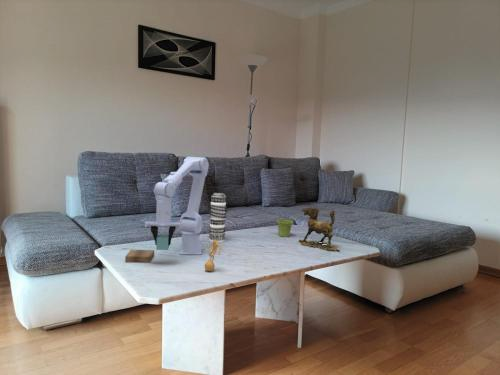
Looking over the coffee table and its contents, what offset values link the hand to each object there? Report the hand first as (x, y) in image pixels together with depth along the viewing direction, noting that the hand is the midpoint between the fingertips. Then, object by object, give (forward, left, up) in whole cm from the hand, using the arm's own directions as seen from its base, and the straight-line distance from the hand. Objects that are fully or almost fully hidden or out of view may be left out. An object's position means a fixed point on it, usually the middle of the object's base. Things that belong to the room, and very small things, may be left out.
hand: (163, 244), depth 147 cm
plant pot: (-62, -54, -8) cm, 83 cm away
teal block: (0, 0, -2) cm, 2 cm away
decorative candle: (-23, -41, -8) cm, 48 cm away
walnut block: (+10, -6, -8) cm, 14 cm away
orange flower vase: (-20, +8, -8) cm, 23 cm away
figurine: (-76, -32, -8) cm, 83 cm away
